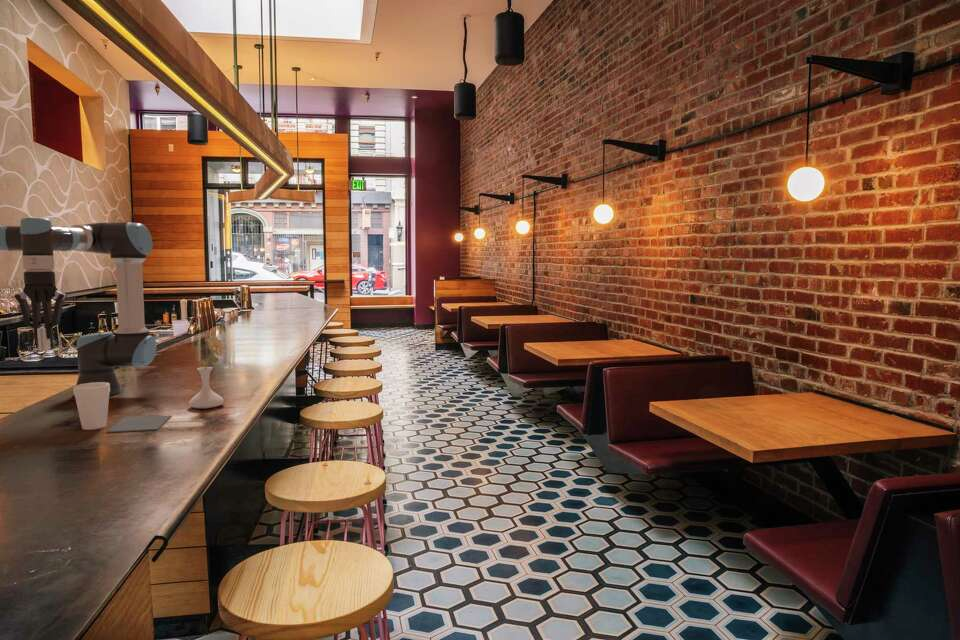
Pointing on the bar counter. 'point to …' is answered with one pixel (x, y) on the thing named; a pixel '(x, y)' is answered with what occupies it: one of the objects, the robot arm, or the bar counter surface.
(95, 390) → the foam cup
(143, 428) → the mat
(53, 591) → the bar counter surface
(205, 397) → the flower in vase
